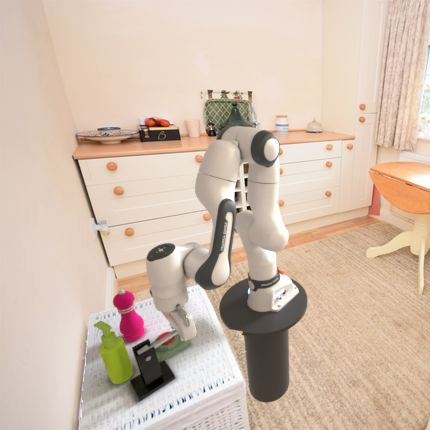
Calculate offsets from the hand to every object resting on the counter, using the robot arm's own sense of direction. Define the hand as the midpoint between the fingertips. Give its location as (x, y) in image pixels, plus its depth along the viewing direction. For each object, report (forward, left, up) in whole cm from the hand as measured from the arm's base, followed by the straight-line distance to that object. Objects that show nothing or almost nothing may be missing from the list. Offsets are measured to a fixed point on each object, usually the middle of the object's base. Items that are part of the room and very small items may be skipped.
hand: (178, 332), depth 90 cm
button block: (+2, -9, -12) cm, 15 cm away
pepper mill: (+8, -23, -13) cm, 27 cm away
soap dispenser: (+16, -9, -12) cm, 22 cm away
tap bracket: (+10, 0, -12) cm, 16 cm away
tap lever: (+5, 0, -1) cm, 5 cm away
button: (+2, -9, -9) cm, 13 cm away
